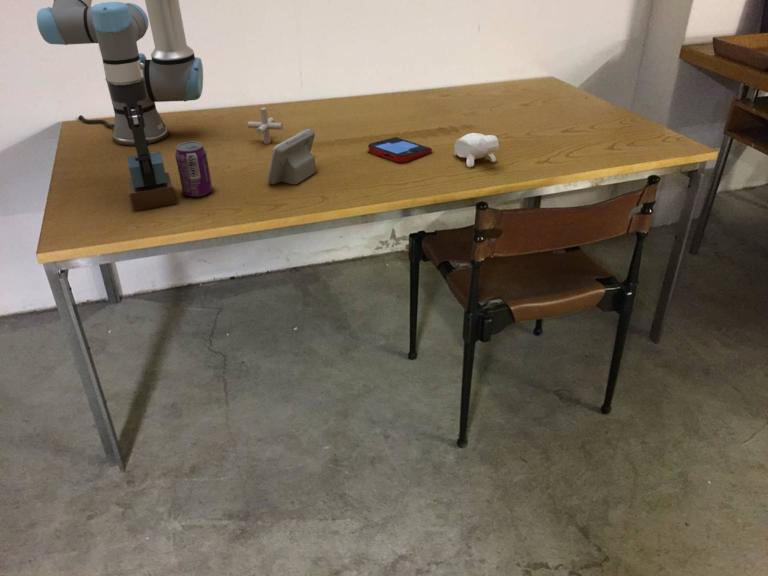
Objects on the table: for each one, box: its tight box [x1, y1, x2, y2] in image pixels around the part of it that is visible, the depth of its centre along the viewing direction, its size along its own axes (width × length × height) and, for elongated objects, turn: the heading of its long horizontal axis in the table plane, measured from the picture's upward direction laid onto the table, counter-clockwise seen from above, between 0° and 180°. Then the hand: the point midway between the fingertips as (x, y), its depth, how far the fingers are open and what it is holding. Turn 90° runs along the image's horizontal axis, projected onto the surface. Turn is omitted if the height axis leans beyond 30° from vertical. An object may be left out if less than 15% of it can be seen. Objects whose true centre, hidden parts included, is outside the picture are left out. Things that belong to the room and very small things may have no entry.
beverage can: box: [174, 140, 213, 198], centre depth 153 cm, size 7×7×12 cm
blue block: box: [126, 151, 167, 188], centre depth 149 cm, size 8×8×5 cm
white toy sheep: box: [453, 132, 500, 168], centre depth 169 cm, size 9×8×15 cm
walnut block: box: [127, 171, 177, 212], centre depth 152 cm, size 10×10×4 cm
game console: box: [367, 136, 433, 163], centre depth 177 cm, size 14×13×2 cm
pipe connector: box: [247, 107, 284, 145], centre depth 183 cm, size 10×10×10 cm
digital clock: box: [266, 128, 317, 186], centre depth 161 cm, size 16×9×11 cm, turn 140°
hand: (149, 178), depth 151 cm, fingers closed on blue block, 7 cm apart
